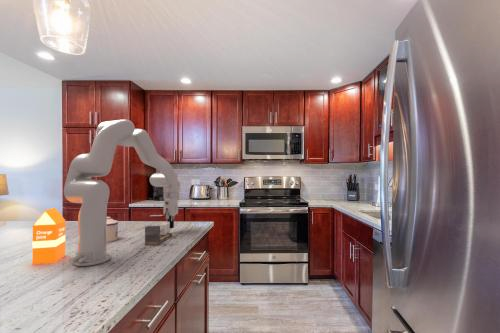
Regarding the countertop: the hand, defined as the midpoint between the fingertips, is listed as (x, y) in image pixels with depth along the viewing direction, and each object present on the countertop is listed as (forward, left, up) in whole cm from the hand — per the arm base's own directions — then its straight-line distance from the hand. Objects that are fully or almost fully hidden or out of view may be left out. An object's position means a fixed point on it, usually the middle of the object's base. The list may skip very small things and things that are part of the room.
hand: (170, 227), depth 145 cm
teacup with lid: (-15, +27, -3) cm, 31 cm away
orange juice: (-45, +31, -3) cm, 55 cm away
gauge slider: (-10, 0, -1) cm, 10 cm away
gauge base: (-14, 0, -3) cm, 14 cm away
